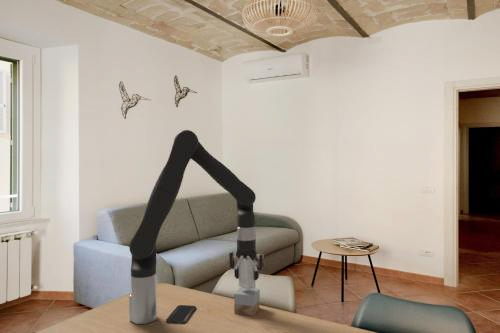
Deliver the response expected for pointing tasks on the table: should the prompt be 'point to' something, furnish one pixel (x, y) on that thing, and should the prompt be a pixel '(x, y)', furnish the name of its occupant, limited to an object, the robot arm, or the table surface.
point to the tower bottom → (246, 309)
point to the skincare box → (246, 274)
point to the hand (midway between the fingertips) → (246, 279)
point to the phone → (181, 314)
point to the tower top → (247, 297)
